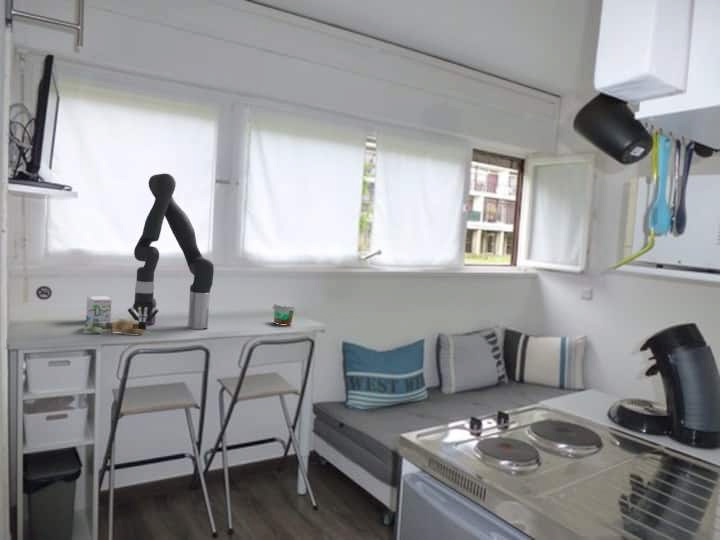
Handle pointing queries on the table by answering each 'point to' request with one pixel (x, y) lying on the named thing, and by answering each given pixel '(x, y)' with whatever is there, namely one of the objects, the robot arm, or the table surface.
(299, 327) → the table surface
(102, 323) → the channel
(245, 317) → the table surface
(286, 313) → the food container
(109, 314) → the ink box
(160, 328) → the table surface
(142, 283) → the robot arm
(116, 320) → the block
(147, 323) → the beverage can
